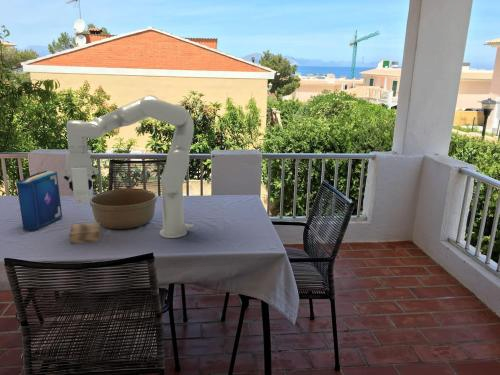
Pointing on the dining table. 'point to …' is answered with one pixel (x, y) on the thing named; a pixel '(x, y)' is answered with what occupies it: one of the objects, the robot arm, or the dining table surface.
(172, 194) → the robot arm
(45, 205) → the book
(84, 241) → the tan flat block
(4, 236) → the dining table surface
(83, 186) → the skincare box
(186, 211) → the dining table surface
